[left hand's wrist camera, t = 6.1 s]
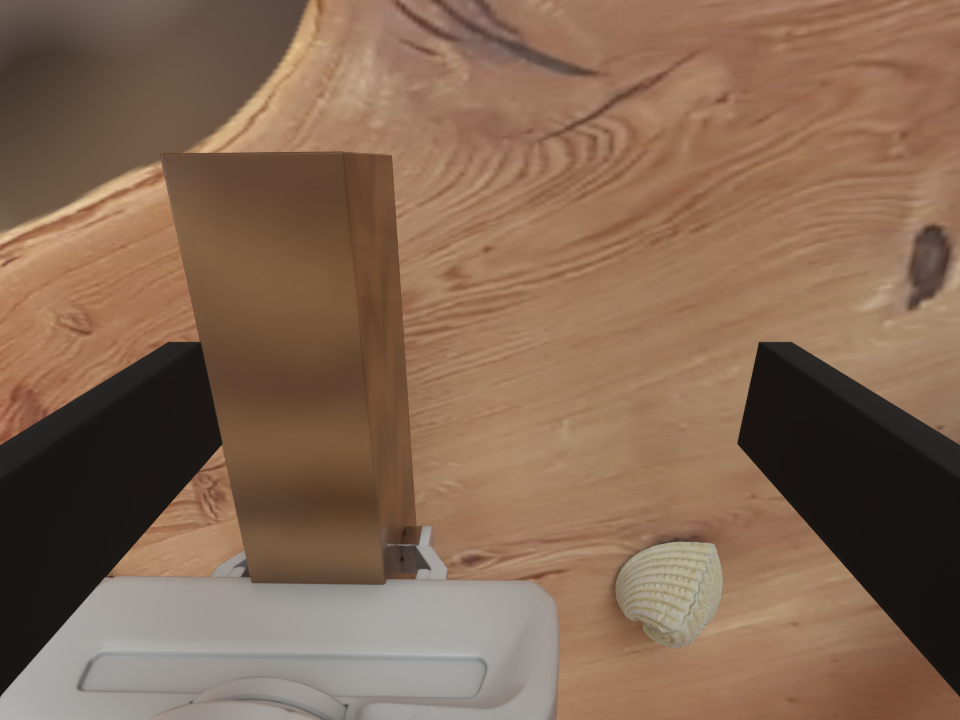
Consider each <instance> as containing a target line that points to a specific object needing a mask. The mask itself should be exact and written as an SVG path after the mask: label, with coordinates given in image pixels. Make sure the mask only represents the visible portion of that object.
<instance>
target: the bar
mask: <svg viewBox="0 0 960 720" xmlns="http://www.w3.org/2000/svg"><path fill="white" fill-rule="evenodd" d="M160 157H161V161H162V166H163V171H164V175H165V180H166V185H167V189H168V194H169V199H170V204H171V208H172V213H173V218H174V222H175V227H176V232H177V236H178V241H179V246H180V250H181V255H182V260H183V264H184V269H185V274H186V278H187V283H188V288H189V292H190V297H191V302H192V307H193V311H194V316H195V321H196V325H197V330H198V335H199V339H200V342H201V345H202V349H203V354H204V359H205V363H206V368H207V373H208V377H209V382H210V387H211V391H212V396H213V401H214V405H215V410H216V415H217V419H218V424H219V429H220V433H221V438H222V443H223V444H222V447H223V452H224V456H225V461H226V466H227V470H228V475H229V480H230V484H231V489H232V494H233V498H234V503H235V508H236V512H237V517H238V522H239V527H240V531H241V536H242V541H243V545H244V550H245V555H246V559H247V564H248V569H249V573H250V578H251V583H273V584H349V585H385V583H386V580H387V579H415V576H416V574H410V573H403V571H402V559H403V558H402V557H401V546H400V545H401V541H402V537H403V535H404V529H405V526H416V515H415V500H414V484H413V469H412V454H411V439H410V423H409V408H408V393H407V378H406V362H405V347H404V332H403V317H402V301H401V286H400V271H399V256H398V240H397V225H396V210H395V195H394V179H393V164H392V156H391V155H383V154H369V153H354V152H261V153H173V154H161V156H160Z"/></svg>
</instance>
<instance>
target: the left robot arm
mask: <svg viewBox="0 0 960 720" xmlns="http://www.w3.org/2000/svg"><path fill="white" fill-rule="evenodd" d="M222 444H223V443H222V438H221V433H220V429H219V424H218V419H217V415H216V410H215V405H214V401H213V396H212V391H211V387H210V382H209V377H208V373H207V368H206V363H205V359H204V354H203V349H202V345H201V342H168V343H166V344H164V345H163V346H161V347H159V348H158V349H156V350H155V351H153V352H151V353H150V354H148V355H146V356H145V357H143V358H142V359H140V360H138V361H137V362H135V363H133V364H132V365H130V366H128V367H127V368H125V369H124V370H122V371H120V372H119V373H117V374H115V375H114V376H112V377H111V378H109V379H107V380H106V381H104V382H102V383H101V384H99V385H97V386H96V387H94V388H93V389H91V390H89V391H88V392H86V393H84V394H83V395H81V396H80V397H78V398H76V399H75V400H73V401H71V402H70V403H68V404H67V405H65V406H63V407H62V408H60V409H58V410H57V411H55V412H53V413H52V414H50V415H49V416H47V417H45V418H44V419H42V420H40V421H39V422H37V423H36V424H34V425H32V426H31V427H29V428H27V429H26V430H24V431H22V432H21V433H19V434H18V435H16V436H14V437H13V438H11V439H9V440H8V441H6V442H5V443H3V444H1V445H0V696H1V695H2V694H3V693H4V692H5V691H6V690H7V688H8V687H9V686H10V685H11V684H12V683H13V682H14V681H15V679H16V678H17V677H18V676H19V675H20V674H21V673H22V671H23V670H24V669H25V668H26V667H27V666H28V665H29V663H30V662H31V661H32V660H33V659H34V658H35V657H36V656H37V654H38V653H39V652H40V651H41V650H42V649H43V648H44V646H45V645H46V644H47V643H48V642H49V641H50V640H51V638H52V637H53V636H54V635H55V634H56V633H57V632H58V630H59V629H60V628H61V627H62V626H63V625H64V624H65V623H66V621H67V620H68V619H69V618H70V617H71V616H72V615H73V613H74V612H75V611H76V610H77V609H78V608H79V607H80V605H81V604H82V603H83V602H84V601H85V600H86V599H87V597H88V596H89V595H90V594H91V593H92V592H93V591H94V590H95V588H96V587H97V586H98V585H99V584H100V583H101V582H102V580H103V579H104V578H105V577H106V576H107V575H108V574H109V572H110V571H111V570H112V569H113V568H114V567H115V566H116V565H117V563H118V562H119V561H120V560H121V559H122V558H123V557H124V555H125V554H126V553H127V552H128V551H129V550H130V549H131V547H132V546H133V545H134V544H135V543H136V542H137V541H138V539H139V538H140V537H141V536H142V535H143V534H144V533H145V532H146V530H147V529H148V528H149V527H150V526H151V525H152V524H153V522H154V521H155V520H156V519H157V518H158V517H159V516H160V514H161V513H162V512H163V511H164V510H165V509H166V508H167V506H168V505H169V504H170V503H171V502H172V501H173V500H174V499H175V497H176V496H177V495H178V494H179V493H180V492H181V491H182V489H183V488H184V487H185V486H186V485H187V484H188V483H189V481H190V480H191V479H192V478H193V477H194V476H195V475H196V474H197V472H198V471H199V470H200V469H201V468H202V467H203V466H204V464H205V463H206V462H207V461H208V460H209V459H210V458H211V456H212V455H213V454H214V453H215V452H216V451H217V450H218V448H219V447H220V446H221V445H222ZM737 444H738V445H739V446H740V447H741V448H742V450H743V451H744V452H745V453H746V454H747V455H748V456H749V458H750V459H751V460H752V461H753V462H754V463H755V464H756V466H757V467H758V468H759V469H760V470H761V471H762V472H763V474H764V475H765V476H766V477H767V478H768V479H769V480H770V481H771V483H772V484H773V485H774V486H775V487H776V488H777V489H778V491H779V492H780V493H781V494H782V495H783V496H784V497H785V499H786V500H787V501H788V502H789V503H790V504H791V505H792V507H793V508H794V509H795V510H796V511H797V512H798V513H799V514H800V516H801V517H802V518H803V519H804V520H805V521H806V522H807V524H808V525H809V526H810V527H811V528H812V529H813V530H814V532H815V533H816V534H817V535H818V536H819V537H820V538H821V539H822V541H823V542H824V543H825V544H826V545H827V546H828V547H829V549H830V550H831V551H832V552H833V553H834V554H835V555H836V557H837V558H838V559H839V560H840V561H841V562H842V563H843V565H844V566H845V567H846V568H847V569H848V570H849V571H850V572H851V574H852V575H853V576H854V577H855V578H856V579H857V580H858V582H859V583H860V584H861V585H862V586H863V587H864V588H865V590H866V591H867V592H868V593H869V594H870V595H871V596H872V597H873V599H874V600H875V601H876V602H877V603H878V604H879V605H880V607H881V608H882V609H883V610H884V611H885V612H886V613H887V615H888V616H889V617H890V618H891V619H892V620H893V621H894V623H895V624H896V625H897V626H898V627H899V628H900V629H901V630H902V632H903V633H904V634H905V635H906V636H907V637H908V638H909V640H910V641H911V642H912V643H913V644H914V645H915V646H916V648H917V649H918V650H919V651H920V652H921V653H922V654H923V656H924V657H925V658H926V659H927V660H928V661H929V662H930V663H931V665H932V666H933V667H934V668H935V669H936V670H937V671H938V673H939V674H940V675H941V676H942V677H943V678H944V679H945V681H946V682H947V683H948V684H949V685H950V686H951V687H952V688H953V690H954V691H955V692H956V693H957V694H958V695H959V696H960V445H959V444H957V443H955V442H954V441H952V440H951V439H949V438H947V437H946V436H944V435H942V434H941V433H939V432H938V431H936V430H934V429H933V428H931V427H929V426H928V425H926V424H924V423H923V422H921V421H920V420H918V419H916V418H915V417H913V416H911V415H910V414H908V413H907V412H905V411H903V410H902V409H900V408H898V407H897V406H895V405H893V404H892V403H890V402H889V401H887V400H885V399H884V398H882V397H880V396H879V395H877V394H876V393H874V392H872V391H871V390H869V389H867V388H866V387H864V386H862V385H861V384H859V383H858V382H856V381H854V380H853V379H851V378H849V377H848V376H846V375H845V374H843V373H841V372H840V371H838V370H836V369H835V368H833V367H832V366H830V365H828V364H827V363H825V362H823V361H822V360H820V359H818V358H817V357H815V356H814V355H812V354H810V353H809V352H807V351H805V350H804V349H802V348H801V347H799V346H797V345H796V344H794V343H792V342H759V345H758V349H757V354H756V359H755V363H754V368H753V373H752V377H751V382H750V387H749V391H748V396H747V401H746V405H745V410H744V415H743V419H742V424H741V429H740V433H739V438H738V443H737Z"/></svg>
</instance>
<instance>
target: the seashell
mask: <svg viewBox="0 0 960 720" xmlns="http://www.w3.org/2000/svg"><path fill="white" fill-rule="evenodd" d="M722 583H723V581H722V570H721V564H720V560H719V557H718V554H717V550H716V546H715V545H714V544H712V543H699V542H671V543H665V544H659V545H655V546H652V547H650V548H647V549H645V550H643V551H641V552H639V553H637V554H636V555H635V556H633V557H632V558H631V559H629V560H628V561H627V562H626V563H625V565H624V566H623V567H622V569H621V571H620V573H619V575H618V577H617V581H616V587H615V593H616V599H617V603H618V605H619V607H620V609H621V610H622V612H623V613H624V615H625V616H626V617H627V618H628V619H629V620H631V621H634V622H643V627H642V628H643V630H644V632H645V633H646V635H648V636H649V637H650V638H651V639H653V640H654V641H656V642H657V643H659V644H661V645H664V646H667V647H671V648H681V647H684V646H687V645H689V644H691V642H693V641H694V640H695V638H696V637H697V636H698V635H699V634H700V633H701V630H702V629H705V626H706V625H707V624H708V623H709V622H710V621H711V619H712V618H713V616H714V615H715V613H716V611H717V608H718V606H719V602H720V599H721V594H722Z"/></svg>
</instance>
